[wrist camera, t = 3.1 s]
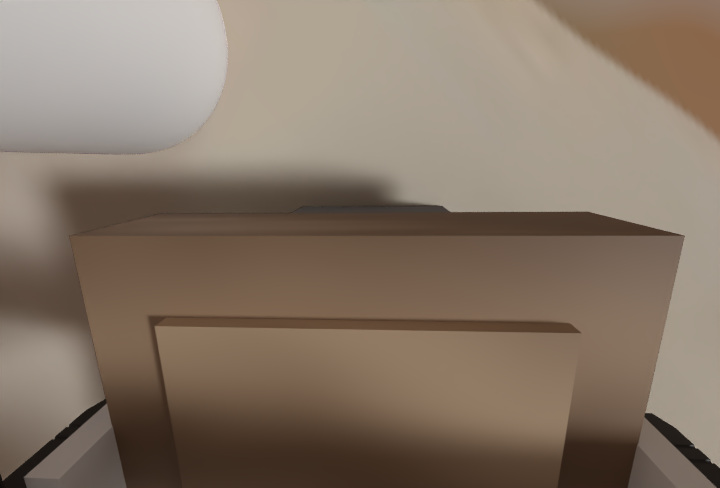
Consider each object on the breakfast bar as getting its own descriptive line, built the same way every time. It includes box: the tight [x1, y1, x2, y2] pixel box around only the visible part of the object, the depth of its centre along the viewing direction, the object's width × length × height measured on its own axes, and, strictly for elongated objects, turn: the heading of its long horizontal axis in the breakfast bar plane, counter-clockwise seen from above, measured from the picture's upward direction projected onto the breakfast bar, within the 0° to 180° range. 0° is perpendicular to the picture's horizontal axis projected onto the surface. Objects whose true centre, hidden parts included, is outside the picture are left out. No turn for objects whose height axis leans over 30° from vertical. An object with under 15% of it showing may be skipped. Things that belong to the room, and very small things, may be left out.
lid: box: [69, 212, 685, 488], centre depth 9 cm, size 12×12×3 cm
